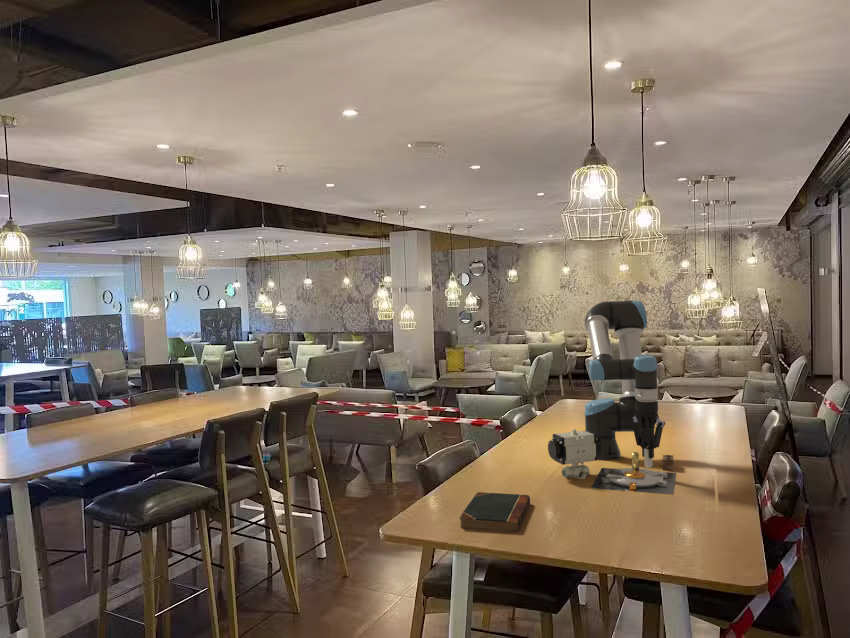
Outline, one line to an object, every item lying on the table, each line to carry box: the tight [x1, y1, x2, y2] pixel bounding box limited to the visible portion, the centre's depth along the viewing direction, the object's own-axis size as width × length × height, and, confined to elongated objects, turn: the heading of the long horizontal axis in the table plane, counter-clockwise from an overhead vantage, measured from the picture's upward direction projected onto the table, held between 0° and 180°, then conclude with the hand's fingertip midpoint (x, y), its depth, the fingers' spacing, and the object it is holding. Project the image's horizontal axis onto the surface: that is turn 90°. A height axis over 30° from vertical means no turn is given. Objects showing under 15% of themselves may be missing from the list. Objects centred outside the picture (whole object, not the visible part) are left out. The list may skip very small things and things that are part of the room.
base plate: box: [590, 467, 677, 496], centre depth 222 cm, size 26×26×1 cm
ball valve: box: [547, 428, 602, 480], centre depth 230 cm, size 18×8×18 cm, turn 105°
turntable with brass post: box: [602, 451, 667, 490], centre depth 222 cm, size 21×23×8 cm
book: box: [459, 491, 531, 533], centre depth 196 cm, size 17×4×25 cm
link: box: [661, 454, 675, 472], centre depth 236 cm, size 4×7×5 cm, turn 156°
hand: (648, 466), depth 225 cm, fingers closed
